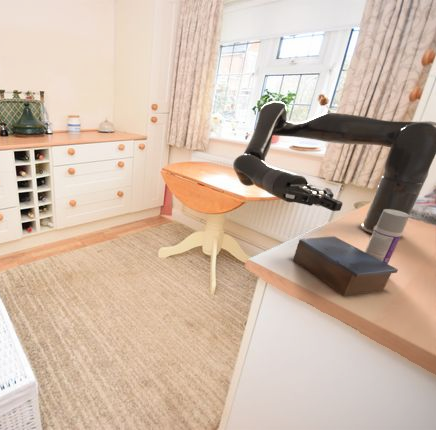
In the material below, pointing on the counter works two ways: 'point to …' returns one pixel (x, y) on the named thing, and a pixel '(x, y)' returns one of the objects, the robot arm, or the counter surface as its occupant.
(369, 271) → the cover
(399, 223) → the container
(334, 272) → the case
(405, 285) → the counter surface
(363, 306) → the counter surface
